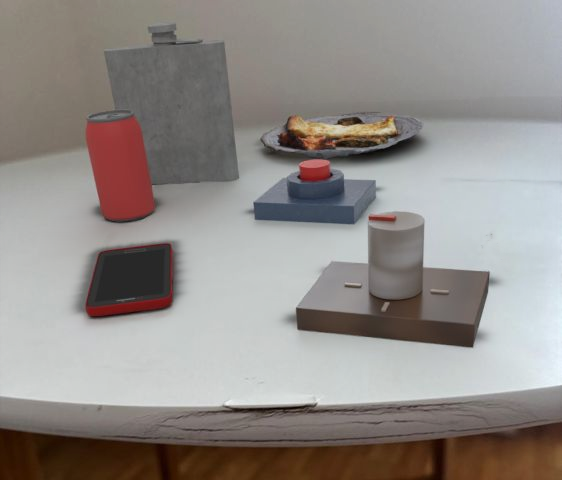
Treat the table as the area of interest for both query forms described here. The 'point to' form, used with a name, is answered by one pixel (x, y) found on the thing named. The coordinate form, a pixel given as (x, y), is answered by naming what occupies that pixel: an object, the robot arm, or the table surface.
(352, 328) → the panel
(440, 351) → the table surface
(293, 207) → the button block
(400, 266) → the tap knob
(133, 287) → the cell phone
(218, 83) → the hip flask
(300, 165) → the red button
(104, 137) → the beer can
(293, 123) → the food plate
